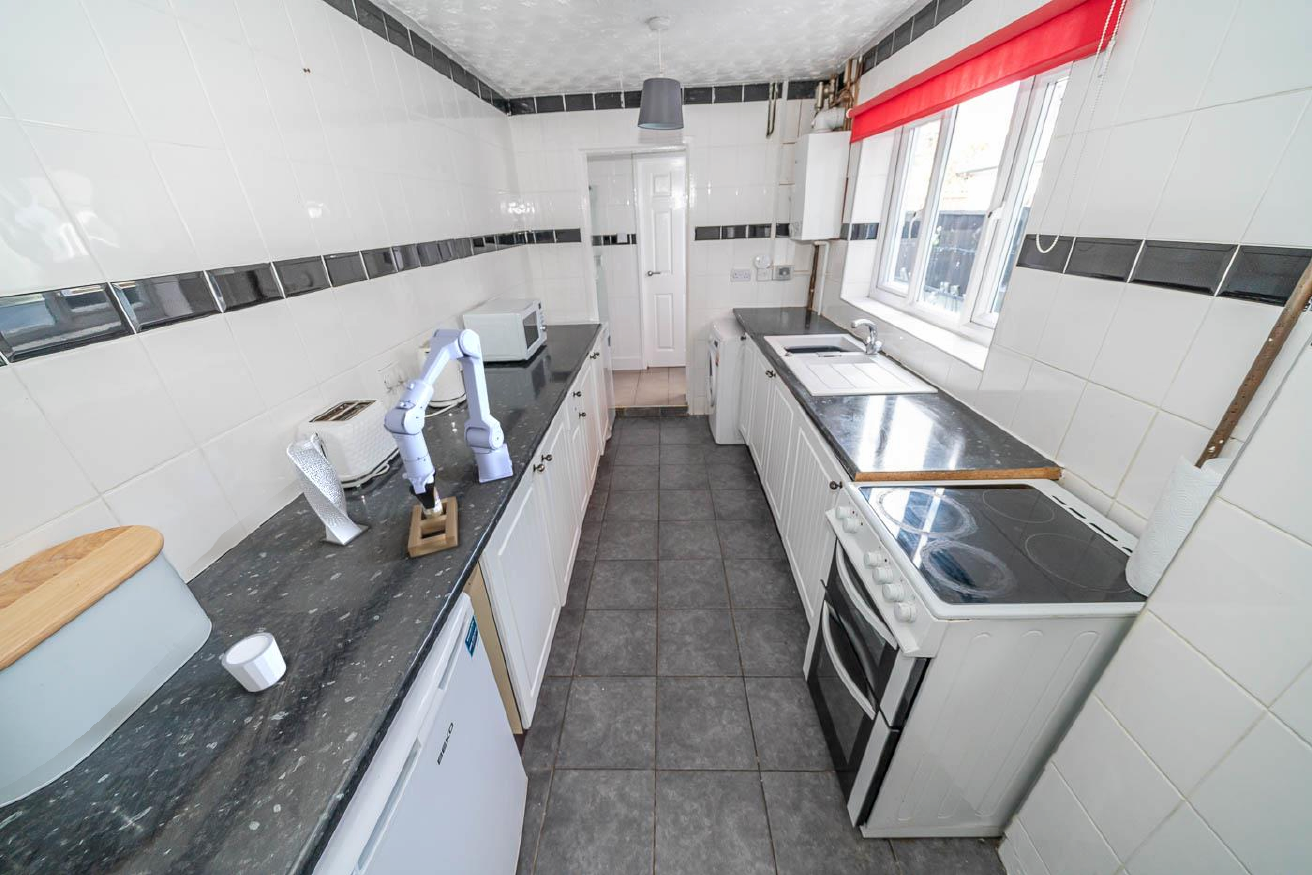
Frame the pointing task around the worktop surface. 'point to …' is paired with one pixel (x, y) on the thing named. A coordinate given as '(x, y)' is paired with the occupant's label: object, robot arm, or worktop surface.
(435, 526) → the holder
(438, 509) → the sprinkles bottle
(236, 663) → the white faceted cup
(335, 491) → the skyscraper
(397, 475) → the worktop surface
